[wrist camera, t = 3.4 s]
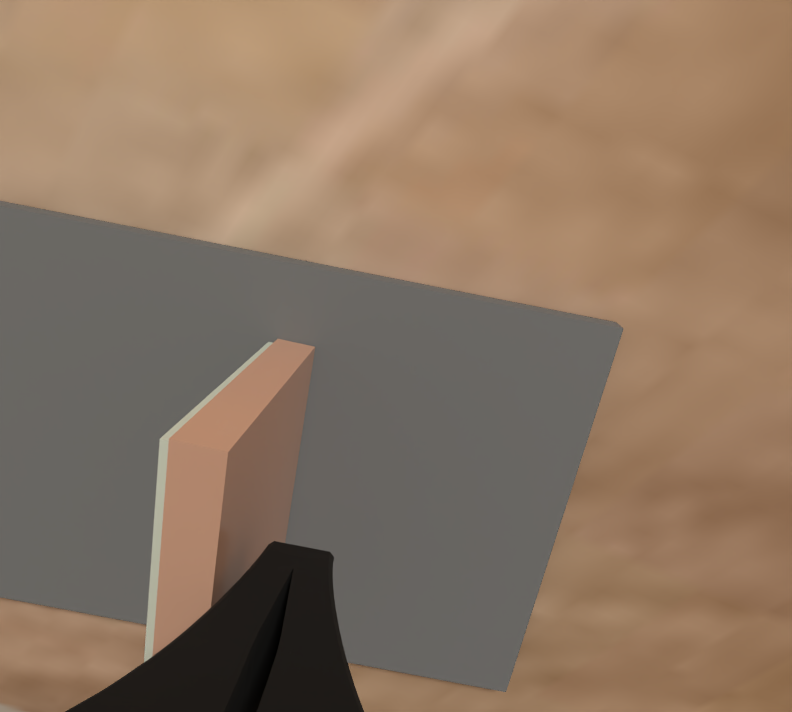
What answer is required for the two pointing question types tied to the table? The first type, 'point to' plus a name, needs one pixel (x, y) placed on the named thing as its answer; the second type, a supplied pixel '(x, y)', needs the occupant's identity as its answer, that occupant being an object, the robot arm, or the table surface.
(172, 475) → the tile
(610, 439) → the table surface
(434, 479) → the mat
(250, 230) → the table surface
